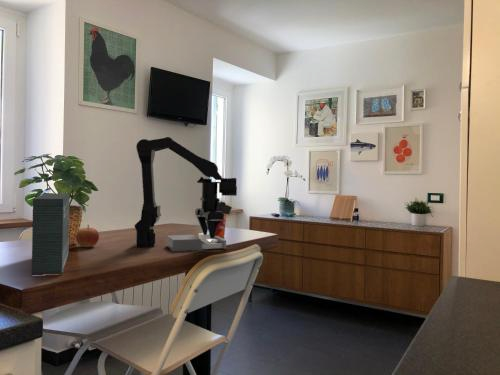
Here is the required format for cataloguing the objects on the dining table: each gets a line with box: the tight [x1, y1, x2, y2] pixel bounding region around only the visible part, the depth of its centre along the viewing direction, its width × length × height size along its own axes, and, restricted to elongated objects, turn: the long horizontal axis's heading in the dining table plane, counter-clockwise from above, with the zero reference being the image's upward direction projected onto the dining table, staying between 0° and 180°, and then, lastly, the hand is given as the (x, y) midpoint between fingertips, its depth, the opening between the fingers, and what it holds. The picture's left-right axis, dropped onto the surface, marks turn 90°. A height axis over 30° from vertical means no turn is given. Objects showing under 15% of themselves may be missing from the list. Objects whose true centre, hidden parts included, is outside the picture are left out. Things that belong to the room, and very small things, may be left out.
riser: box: [198, 232, 212, 239], centre depth 163 cm, size 4×4×4 cm
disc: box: [201, 238, 218, 244], centre depth 153 cm, size 7×7×2 cm
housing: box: [166, 234, 203, 252], centre depth 149 cm, size 10×11×4 cm
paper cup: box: [213, 213, 227, 239], centre depth 179 cm, size 8×8×14 cm
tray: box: [202, 236, 227, 250], centre depth 153 cm, size 11×11×3 cm
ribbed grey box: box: [31, 192, 70, 276], centre depth 117 cm, size 29×7×20 cm, turn 21°
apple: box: [74, 224, 100, 248], centre depth 146 cm, size 8×8×8 cm
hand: (208, 236), depth 153 cm, fingers open, 9 cm apart
